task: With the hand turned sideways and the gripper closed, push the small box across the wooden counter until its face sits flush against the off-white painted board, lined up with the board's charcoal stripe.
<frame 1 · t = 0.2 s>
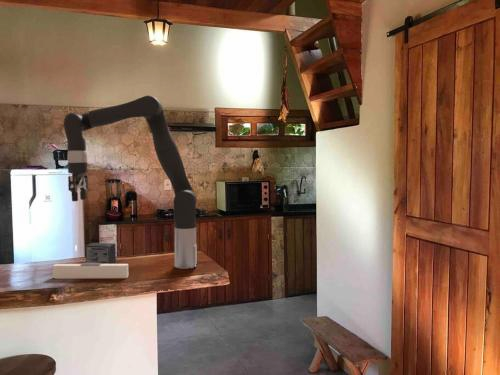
hand: (79, 200, 165), 29 cm above the countertop, tool pointing down, fingers open, 8 cm apart
board: (91, 277, 153), on the countertop
small box: (101, 269, 165), on the countertop
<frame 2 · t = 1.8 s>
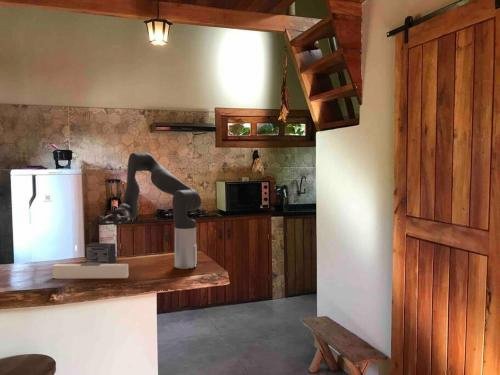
hand: (109, 221, 176), 18 cm above the countertop, tool horizontal, fingers open, 5 cm apart
nothing on the countertop moved.
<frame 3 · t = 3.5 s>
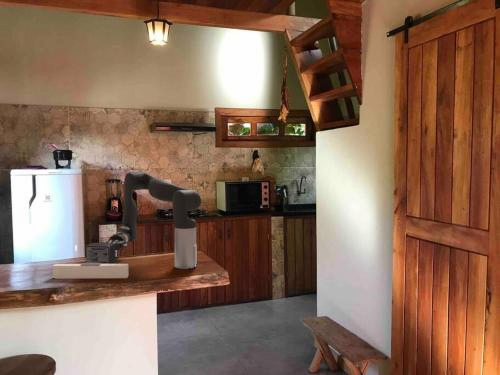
hand: (107, 248, 174), 6 cm above the countertop, tool horizontal, fingers closed
nothing on the countertop moved.
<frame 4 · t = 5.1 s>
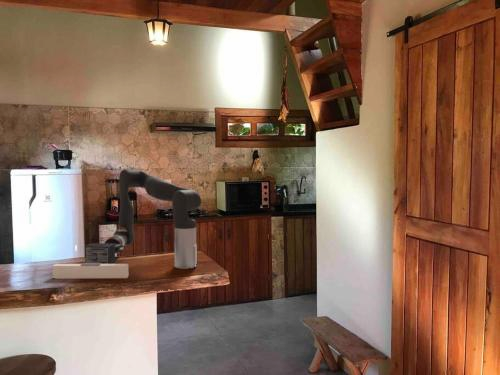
hand: (103, 252, 167), 6 cm above the countertop, tool horizontal, fingers closed
small box: (100, 269, 165), on the countertop, touching gripper
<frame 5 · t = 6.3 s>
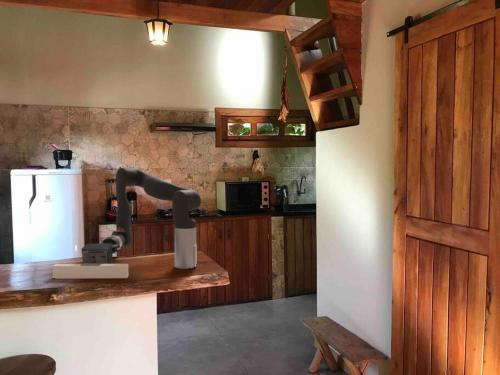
hand: (99, 252, 163), 7 cm above the countertop, tool horizontal, fingers closed
small box: (99, 269, 162), on the countertop, touching gripper
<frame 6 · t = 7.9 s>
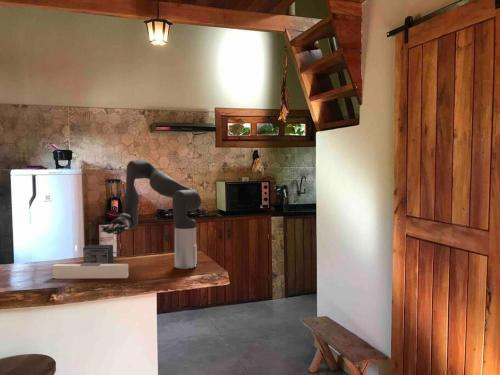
hand: (109, 231, 175), 14 cm above the countertop, tool horizontal, fingers closed
small box: (99, 271, 162), on the countertop
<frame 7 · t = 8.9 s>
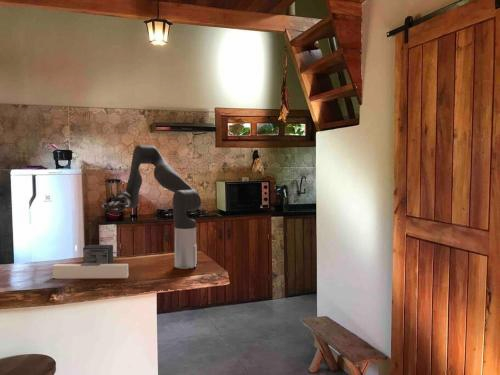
hand: (110, 208, 177), 24 cm above the countertop, tool horizontal, fingers closed
nothing on the countertop moved.
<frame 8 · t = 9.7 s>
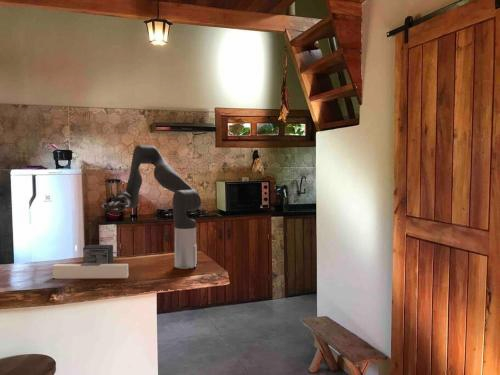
hand: (110, 208, 177), 24 cm above the countertop, tool horizontal, fingers closed
nothing on the countertop moved.
at the end: small box 0.1 cm from the target spot on the countertop beside the board, on the countertop; small box tilted 0° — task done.
